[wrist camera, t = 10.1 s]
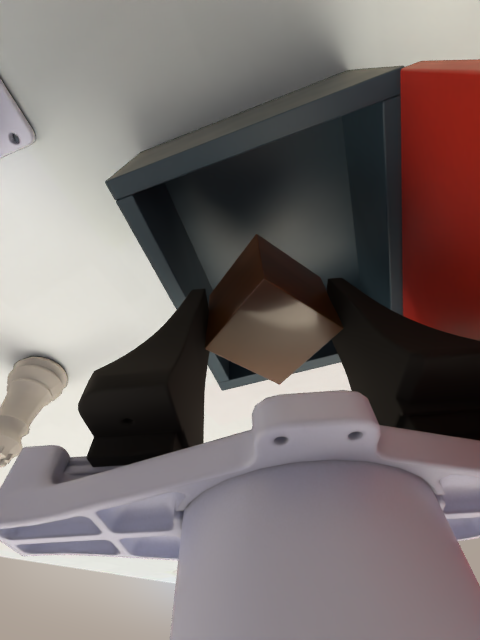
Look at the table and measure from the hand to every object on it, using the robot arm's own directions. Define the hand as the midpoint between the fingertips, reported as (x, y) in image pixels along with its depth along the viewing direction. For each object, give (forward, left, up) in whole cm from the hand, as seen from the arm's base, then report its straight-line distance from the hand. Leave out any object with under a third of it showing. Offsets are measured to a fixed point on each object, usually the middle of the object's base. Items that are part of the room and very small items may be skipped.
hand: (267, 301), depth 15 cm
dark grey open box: (+1, 0, -8) cm, 8 cm away
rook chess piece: (-22, -6, -8) cm, 24 cm away
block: (0, 0, -1) cm, 1 cm away
